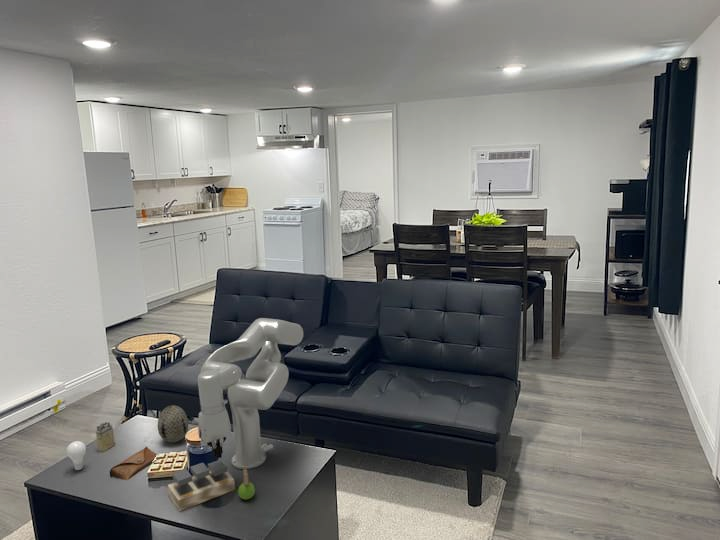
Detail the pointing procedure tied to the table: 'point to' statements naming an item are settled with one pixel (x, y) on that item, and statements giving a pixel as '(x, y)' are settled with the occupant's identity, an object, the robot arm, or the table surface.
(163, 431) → the decorative egg
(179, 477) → the switch
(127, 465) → the sunglasses case
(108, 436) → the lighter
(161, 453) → the table surface
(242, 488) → the green maraca
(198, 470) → the switch middle
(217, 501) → the table surface
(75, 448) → the lightbulb
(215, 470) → the switch
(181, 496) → the switch panel
